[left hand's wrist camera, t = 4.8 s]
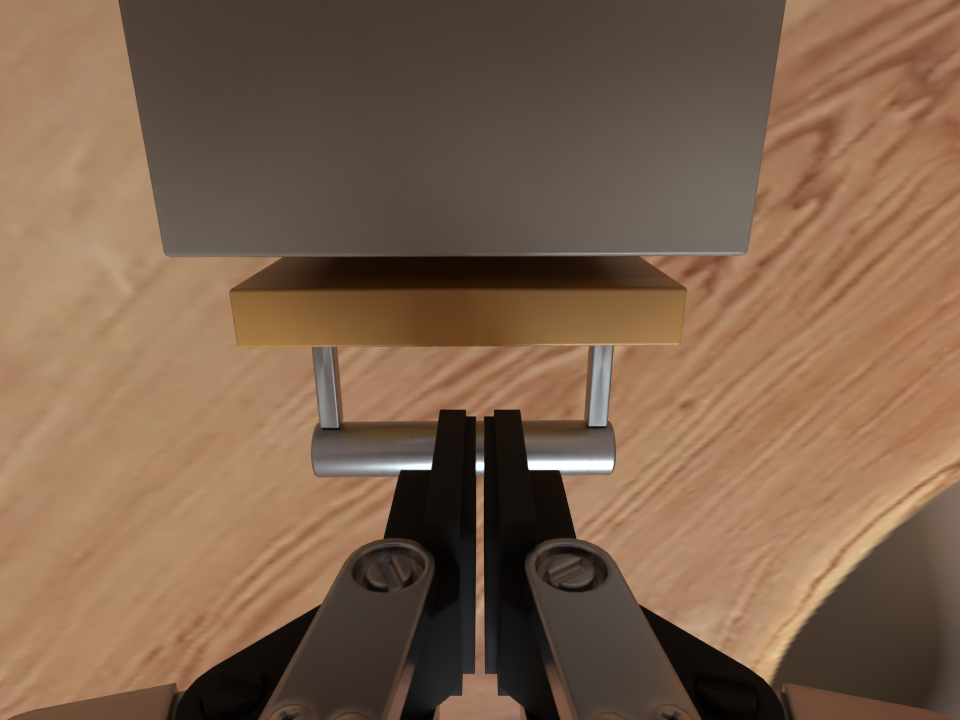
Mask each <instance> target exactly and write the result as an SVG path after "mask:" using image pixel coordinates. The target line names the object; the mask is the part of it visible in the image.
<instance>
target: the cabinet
mask: <svg viewBox="0 0 960 720" xmlns="http://www.w3.org/2000/svg"><path fill="white" fill-rule="evenodd" d="M785 4H786V0H119V6H120V12H121V17H122V23H123V28H124V34H125V39H126V45H127V50H128V56H129V61H130V67H131V72H132V78H133V84H134V89H135V95H136V100H137V106H138V111H139V117H140V122H141V128H142V133H143V139H144V144H145V150H146V156H147V161H148V167H149V172H150V178H151V183H152V189H153V194H154V200H155V205H156V211H157V216H158V222H159V227H160V233H161V239H162V244H163V250H164V253H165V255H166V256H169V257H437V256H742V255H745V254H746V253H747V251H748V245H749V238H750V232H751V225H752V219H753V212H754V206H755V199H756V193H757V186H758V180H759V173H760V167H761V160H762V154H763V147H764V141H765V134H766V128H767V121H768V114H769V108H770V101H771V95H772V88H773V82H774V75H775V69H776V62H777V56H778V49H779V43H780V36H781V30H782V23H783V17H784V10H785Z"/></svg>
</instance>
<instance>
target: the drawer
mask: <svg viewBox="0 0 960 720" xmlns="http://www.w3.org/2000/svg"><path fill="white" fill-rule="evenodd" d="M229 293H230V299H231V306H232V313H233V320H234V327H235V334H236V340H237V345H238V347H312V354H313V364H314V374H315V383H316V393H317V403H318V413H319V423H318V424H317V425H316V427H315V429H314V433H313V437H312V445H311V461H312V467H313V471H314V474H315V475H316V476H317V477H399V473H400V471H401V470H431V467H432V460H433V454H434V447H435V440H436V434H437V427H438V421H397V422H342V421H343V410H342V398H341V387H340V375H339V364H338V352H337V347H426V346H589V355H588V370H587V385H586V400H585V415H584V418H585V420H548V421H522V427H523V434H524V440H525V447H526V454H527V460H528V467H529V470H559V471H560V473H561V475H610V474H612V472H613V470H614V467H615V461H616V442H615V434H614V430H613V427H612V424H611V422H610V421H608V410H609V398H610V386H611V373H612V361H613V349H614V346H636V345H680V343H681V336H682V328H683V320H684V312H685V304H686V295H687V289H686V288H685V287H684V286H682V285H681V284H679V283H678V282H676V281H675V280H673V279H672V278H670V277H669V276H667V275H666V274H665V273H663V272H662V271H660V270H659V269H657V268H656V267H654V266H653V265H651V264H650V263H648V262H647V261H645V260H644V259H642V258H641V257H639V256H437V257H283V258H281V259H279V260H278V261H276V262H274V263H273V264H271V265H270V266H268V267H266V268H265V269H263V270H261V271H260V272H258V273H257V274H255V275H253V276H252V277H250V278H248V279H247V280H245V281H243V282H242V283H240V284H239V285H237V286H235V287H234V288H232V289H230V292H229ZM476 476H484V421H476Z"/></svg>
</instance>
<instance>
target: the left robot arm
mask: <svg viewBox="0 0 960 720" xmlns="http://www.w3.org/2000/svg"><path fill="white" fill-rule="evenodd" d="M475 609H476V416H466V410H440V413H439V420H438V427H437V434H436V440H435V447H434V454H433V460H432V467H431V470H401V471H400V473H399V477H398V481H397V485H396V489H395V494H394V498H393V502H392V506H391V510H390V514H389V518H388V522H387V527H386V531H385V535H384V539H382V540H376V541H373V542H371V543H368V544H366V545H363V546H361V547H360V548H359V549H357V550H356V551H354V552H353V553H352V554H351V555H350V556H349V557H348V559H347V560H346V561H345V562H344V564H343V566H342V568H341V570H340V572H339V573H338V575H337V577H336V579H335V581H334V583H333V584H332V586H331V588H330V590H329V592H328V594H327V595H326V597H325V599H324V601H323V603H322V604H321V605H319V606H317V607H315V608H314V609H312V610H310V611H309V612H307V613H305V614H303V615H302V616H300V617H298V618H297V619H295V620H293V621H291V622H290V623H288V624H286V625H285V626H283V627H281V628H279V629H278V630H276V631H274V632H273V633H271V634H269V635H267V636H266V637H264V638H262V639H261V640H259V641H257V642H255V643H254V644H252V645H250V646H249V647H247V648H245V649H243V650H242V651H240V652H238V653H237V654H235V655H233V656H231V657H230V658H228V659H226V660H225V661H223V662H221V663H219V664H218V665H216V666H214V667H213V668H211V669H210V670H208V671H207V672H206V673H204V674H203V675H201V676H200V677H199V678H197V679H196V680H195V681H194V683H193V684H192V685H191V686H190V687H189V688H188V689H187V690H185V691H180V692H178V689H177V685H176V683H173V684H168V685H162V686H157V687H152V688H146V689H141V690H136V691H131V692H125V693H120V694H115V695H109V696H104V697H99V698H94V699H88V700H83V701H78V702H72V703H67V704H62V705H57V706H51V707H46V708H41V709H35V710H32V711H29V712H25V713H22V714H19V715H16V716H13V717H11V718H9V719H7V720H439V718H440V704H441V703H442V702H443V701H445V700H446V699H447V698H448V697H449V696H462V679H463V674H475ZM484 609H485V674H497V679H498V696H511V697H512V698H513V699H514V700H515V701H517V702H518V703H519V704H520V718H521V720H953V719H951V718H949V717H947V716H944V715H941V714H938V713H934V712H931V711H928V710H925V709H919V708H914V707H909V706H903V705H898V704H893V703H888V702H882V701H877V700H871V699H866V698H861V697H856V696H850V695H845V694H840V693H835V692H829V691H824V690H819V689H813V688H808V687H803V686H798V685H792V684H787V683H784V685H783V689H782V692H780V691H775V690H773V689H772V688H771V687H770V686H769V685H768V684H767V683H766V681H765V680H764V679H763V678H761V677H760V676H759V675H757V674H756V673H754V672H753V671H752V670H750V669H749V668H747V667H746V666H744V665H742V664H741V663H739V662H737V661H735V660H734V659H732V658H730V657H729V656H727V655H725V654H723V653H722V652H720V651H718V650H717V649H715V648H713V647H711V646H710V645H708V644H706V643H705V642H703V641H701V640H699V639H698V638H696V637H694V636H693V635H691V634H689V633H687V632H686V631H684V630H682V629H681V628H679V627H677V626H675V625H674V624H672V623H670V622H669V621H667V620H665V619H663V618H662V617H660V616H658V615H657V614H655V613H653V612H651V611H650V610H648V609H646V608H645V607H643V606H641V605H639V604H638V603H637V601H636V599H635V597H634V595H633V594H632V592H631V590H630V588H629V586H628V584H627V583H626V581H625V579H624V577H623V575H622V573H621V572H620V570H619V568H618V566H617V564H616V562H615V561H614V560H613V559H612V557H611V556H610V555H609V554H608V553H607V552H606V551H604V550H603V549H601V548H600V547H599V546H597V545H594V544H592V543H589V542H587V541H584V540H578V539H576V535H575V531H574V527H573V522H572V518H571V514H570V510H569V506H568V502H567V498H566V494H565V489H564V485H563V481H562V477H561V473H560V471H559V470H529V467H528V460H527V454H526V447H525V440H524V434H523V427H522V420H521V413H520V410H494V416H484Z"/></svg>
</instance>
